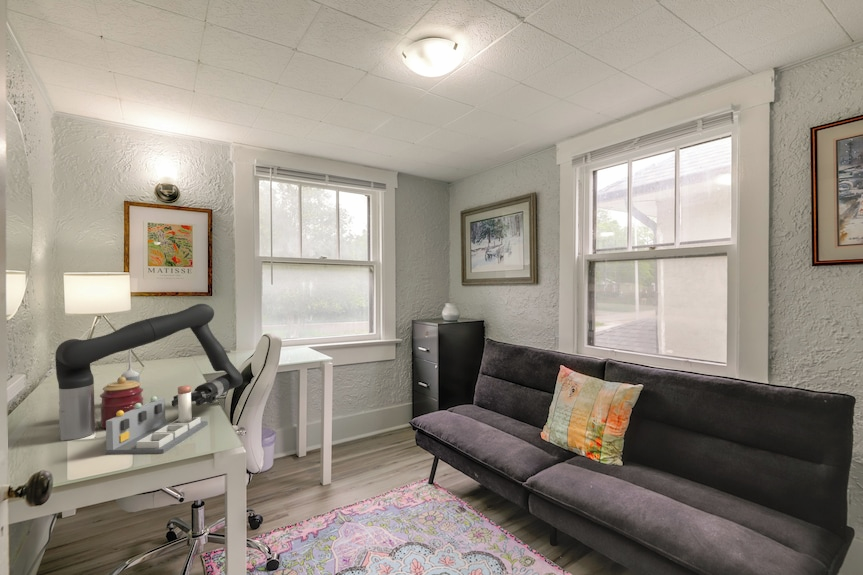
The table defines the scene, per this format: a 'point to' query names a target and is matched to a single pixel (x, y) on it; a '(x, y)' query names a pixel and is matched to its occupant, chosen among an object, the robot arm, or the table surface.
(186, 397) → the plug
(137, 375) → the long-necked bottle
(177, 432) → the breaker board
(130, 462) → the table surface
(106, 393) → the canister
